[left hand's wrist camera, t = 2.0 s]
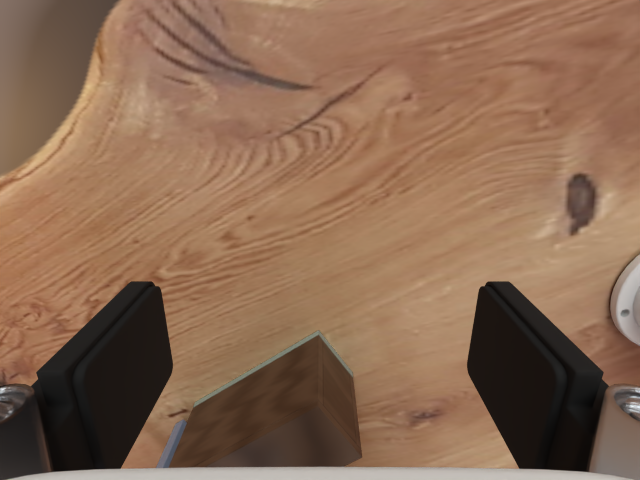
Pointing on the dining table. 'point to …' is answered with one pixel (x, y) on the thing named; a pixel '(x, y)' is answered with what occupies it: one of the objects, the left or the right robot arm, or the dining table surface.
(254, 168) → the dining table surface
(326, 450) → the cabinet
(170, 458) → the drawer
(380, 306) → the dining table surface
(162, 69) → the dining table surface
